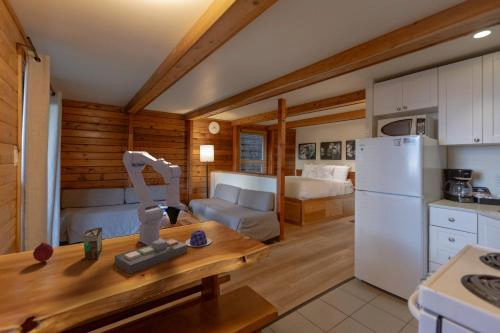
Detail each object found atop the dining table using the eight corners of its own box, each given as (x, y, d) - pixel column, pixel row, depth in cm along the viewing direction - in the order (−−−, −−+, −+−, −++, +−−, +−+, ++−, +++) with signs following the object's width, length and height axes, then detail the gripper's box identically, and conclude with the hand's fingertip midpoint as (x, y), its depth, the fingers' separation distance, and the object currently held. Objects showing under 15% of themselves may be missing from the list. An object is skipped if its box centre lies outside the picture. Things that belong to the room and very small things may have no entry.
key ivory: (124, 263, 89) (124, 254, 89) (135, 259, 92) (135, 251, 92) (129, 266, 86) (129, 257, 86) (140, 262, 90) (140, 253, 89)
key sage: (139, 258, 93) (139, 249, 93) (148, 254, 96) (148, 246, 96) (144, 260, 91) (144, 252, 91) (154, 257, 94) (154, 249, 94)
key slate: (152, 249, 97) (152, 242, 97) (161, 246, 101) (161, 239, 100) (157, 252, 95) (157, 244, 95) (166, 249, 98) (166, 241, 98)
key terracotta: (164, 249, 102) (164, 241, 102) (172, 246, 105) (172, 239, 105) (170, 251, 99) (169, 244, 99) (178, 248, 103) (178, 241, 102)
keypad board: (114, 263, 90) (114, 255, 90) (170, 244, 109) (170, 238, 109) (130, 273, 83) (130, 265, 82) (187, 251, 102) (187, 244, 101)
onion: (57, 260, 93) (56, 239, 92) (40, 266, 87) (39, 245, 87) (47, 258, 94) (46, 237, 94) (29, 264, 89) (29, 243, 89)
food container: (85, 251, 101) (84, 228, 100) (102, 249, 103) (102, 226, 103) (77, 264, 89) (77, 237, 89) (97, 261, 92) (96, 235, 91)
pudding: (194, 237, 120) (194, 227, 120) (216, 240, 116) (216, 229, 115) (179, 246, 109) (179, 234, 108) (203, 249, 104) (202, 237, 104)
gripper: (155, 193, 106) (155, 223, 107) (174, 195, 97) (175, 229, 98) (169, 191, 112) (169, 220, 112) (188, 193, 103) (189, 225, 103)
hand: (173, 224), depth 106 cm, fingers closed
